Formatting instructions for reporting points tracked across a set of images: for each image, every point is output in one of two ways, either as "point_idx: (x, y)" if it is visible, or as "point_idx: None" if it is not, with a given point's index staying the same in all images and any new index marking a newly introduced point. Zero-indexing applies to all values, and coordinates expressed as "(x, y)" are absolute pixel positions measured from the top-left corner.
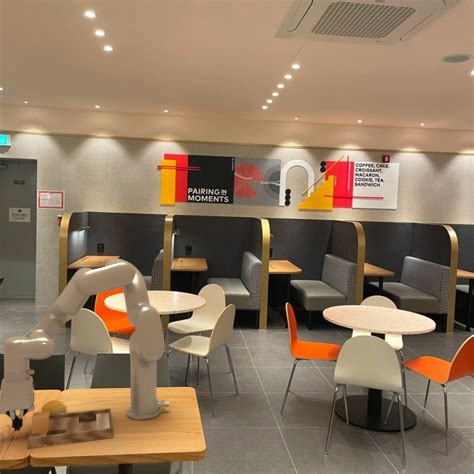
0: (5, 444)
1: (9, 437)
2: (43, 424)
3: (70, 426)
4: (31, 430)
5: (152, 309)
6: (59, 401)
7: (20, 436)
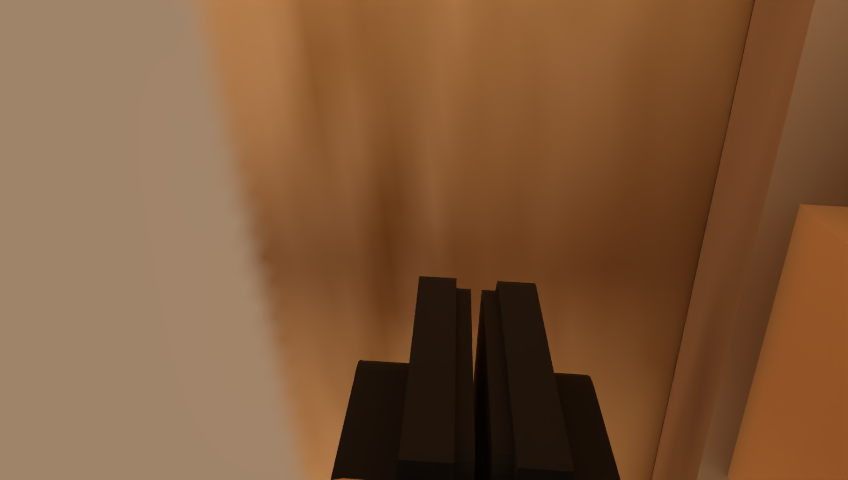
0: (302, 415)
1: (323, 195)
2: None
3: None
4: (737, 338)
5: None
6: None
7: (512, 219)
